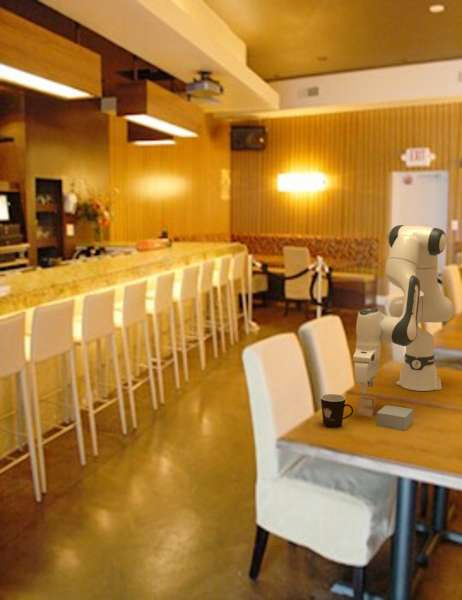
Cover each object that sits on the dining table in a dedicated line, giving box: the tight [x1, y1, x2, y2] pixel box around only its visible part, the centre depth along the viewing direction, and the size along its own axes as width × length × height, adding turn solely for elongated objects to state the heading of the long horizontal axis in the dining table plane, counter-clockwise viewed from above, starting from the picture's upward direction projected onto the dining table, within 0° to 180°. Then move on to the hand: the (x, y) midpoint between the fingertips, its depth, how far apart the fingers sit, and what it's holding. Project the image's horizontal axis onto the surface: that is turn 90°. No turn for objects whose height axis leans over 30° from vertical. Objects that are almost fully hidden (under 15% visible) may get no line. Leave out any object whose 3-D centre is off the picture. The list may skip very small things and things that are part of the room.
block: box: [376, 404, 415, 431], centre depth 212 cm, size 10×10×5 cm
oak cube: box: [357, 395, 376, 417], centre depth 223 cm, size 5×5×6 cm
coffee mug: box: [320, 393, 354, 429], centre depth 210 cm, size 12×9×10 cm
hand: (367, 389), depth 222 cm, fingers open, 8 cm apart
